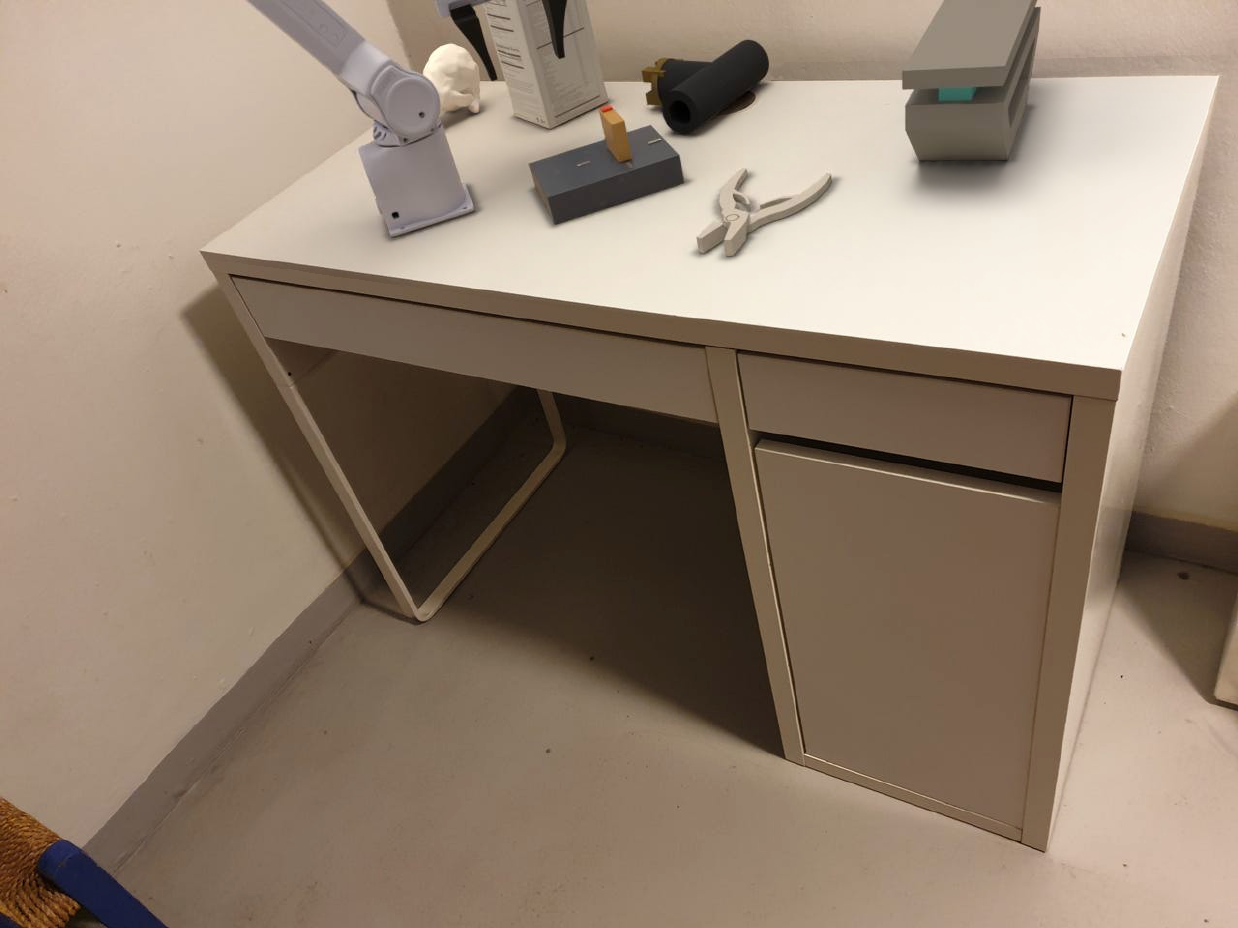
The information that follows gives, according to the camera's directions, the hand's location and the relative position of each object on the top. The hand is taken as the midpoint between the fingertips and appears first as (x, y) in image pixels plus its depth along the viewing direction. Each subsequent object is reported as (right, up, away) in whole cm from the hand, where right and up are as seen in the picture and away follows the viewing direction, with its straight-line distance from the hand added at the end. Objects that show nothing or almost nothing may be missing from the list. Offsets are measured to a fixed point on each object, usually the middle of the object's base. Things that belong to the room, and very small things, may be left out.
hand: (526, 67), depth 98 cm
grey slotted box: (+44, -11, -11) cm, 47 cm away
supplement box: (+3, +2, +19) cm, 19 cm away
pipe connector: (+19, -1, +10) cm, 22 cm away
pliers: (+22, -20, -14) cm, 33 cm away
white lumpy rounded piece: (-13, +3, +24) cm, 28 cm away
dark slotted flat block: (+9, -14, -2) cm, 16 cm away
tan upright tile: (+10, -11, -4) cm, 15 cm away
